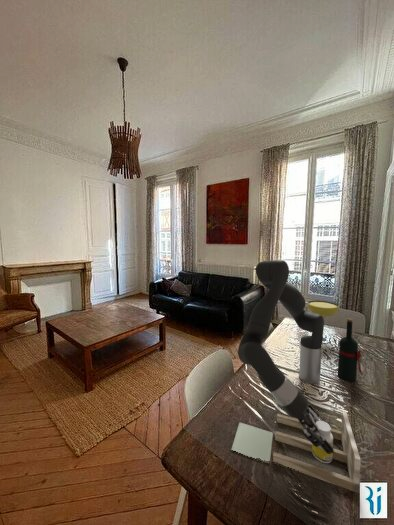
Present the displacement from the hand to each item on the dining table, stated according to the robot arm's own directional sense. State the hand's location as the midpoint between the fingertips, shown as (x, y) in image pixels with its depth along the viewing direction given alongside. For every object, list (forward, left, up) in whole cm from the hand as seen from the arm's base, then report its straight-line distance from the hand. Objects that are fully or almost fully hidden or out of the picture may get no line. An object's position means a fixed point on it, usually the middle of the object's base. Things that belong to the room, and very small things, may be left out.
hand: (329, 443), depth 67 cm
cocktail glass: (-96, +8, -8) cm, 97 cm away
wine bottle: (-53, +16, -8) cm, 56 cm away
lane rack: (-4, -4, -8) cm, 10 cm away
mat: (0, -22, -8) cm, 24 cm away
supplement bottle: (0, -2, -5) cm, 5 cm away
